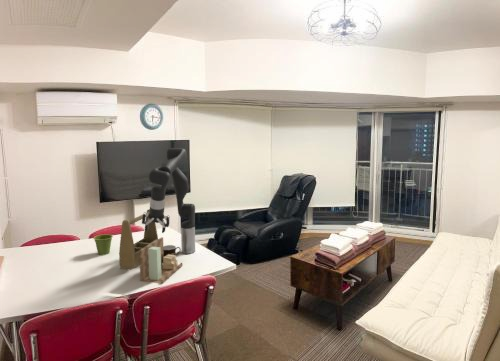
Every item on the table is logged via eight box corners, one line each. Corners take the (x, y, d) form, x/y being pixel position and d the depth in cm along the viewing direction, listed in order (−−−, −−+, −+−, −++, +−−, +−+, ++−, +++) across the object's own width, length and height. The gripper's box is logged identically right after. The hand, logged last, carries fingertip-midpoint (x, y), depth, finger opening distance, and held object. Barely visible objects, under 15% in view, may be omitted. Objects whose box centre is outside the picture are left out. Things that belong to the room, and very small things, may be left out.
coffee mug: (162, 266, 195) (161, 250, 194) (162, 261, 203) (161, 245, 202) (181, 264, 198) (181, 248, 197) (180, 259, 206) (180, 244, 205)
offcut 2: (166, 264, 194) (166, 259, 194) (177, 265, 193) (177, 259, 193) (162, 268, 189) (162, 262, 188) (173, 269, 188) (173, 263, 187)
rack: (162, 265, 195) (161, 237, 193) (182, 267, 193) (181, 238, 190) (140, 283, 172) (139, 250, 170) (162, 285, 169) (161, 252, 167)
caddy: (135, 270, 189) (133, 220, 185) (119, 268, 191) (116, 219, 187) (159, 253, 217) (157, 209, 214) (144, 251, 220) (142, 208, 216)
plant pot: (100, 257, 209) (99, 240, 207) (91, 253, 216) (89, 237, 214) (117, 252, 218) (116, 236, 217) (107, 248, 225) (106, 233, 224)
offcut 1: (168, 259, 194) (168, 254, 193) (176, 260, 192) (176, 255, 191) (163, 262, 189) (163, 257, 189) (171, 263, 187) (171, 258, 187)
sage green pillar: (153, 276, 178) (152, 246, 176) (161, 277, 177) (160, 247, 175) (149, 279, 174) (148, 249, 172) (157, 280, 173) (156, 249, 171)
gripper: (171, 204, 176) (169, 229, 182) (145, 200, 174) (143, 225, 180) (169, 210, 169) (166, 236, 175) (141, 206, 167) (140, 233, 173)
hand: (155, 231), depth 177 cm, fingers open, 8 cm apart
